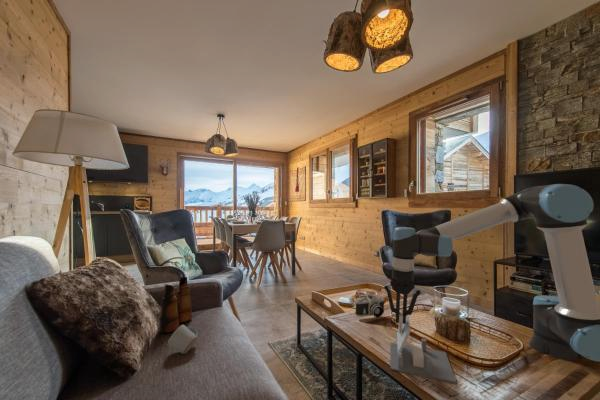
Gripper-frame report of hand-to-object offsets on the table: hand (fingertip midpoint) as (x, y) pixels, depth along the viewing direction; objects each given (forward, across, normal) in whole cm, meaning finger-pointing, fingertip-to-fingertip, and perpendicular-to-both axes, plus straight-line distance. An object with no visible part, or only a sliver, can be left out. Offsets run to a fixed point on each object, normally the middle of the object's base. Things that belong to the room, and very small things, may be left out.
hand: (400, 331), depth 96 cm
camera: (+11, +12, -33) cm, 37 cm away
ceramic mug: (+13, +79, +23) cm, 83 cm away
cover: (+5, 0, 0) cm, 5 cm away
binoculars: (+13, +99, +7) cm, 101 cm away
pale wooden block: (+9, -6, 0) cm, 11 cm away
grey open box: (+10, -7, 0) cm, 12 cm away
